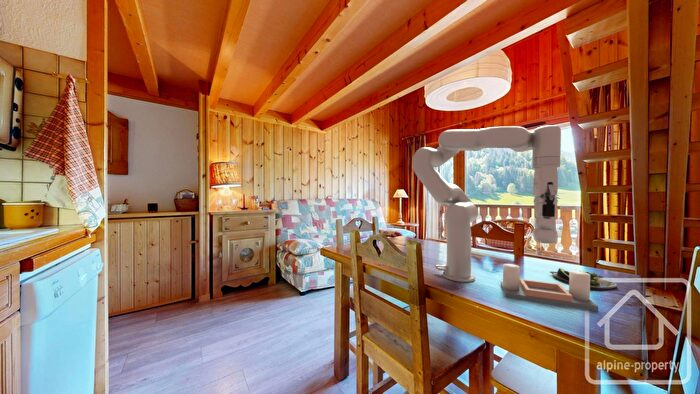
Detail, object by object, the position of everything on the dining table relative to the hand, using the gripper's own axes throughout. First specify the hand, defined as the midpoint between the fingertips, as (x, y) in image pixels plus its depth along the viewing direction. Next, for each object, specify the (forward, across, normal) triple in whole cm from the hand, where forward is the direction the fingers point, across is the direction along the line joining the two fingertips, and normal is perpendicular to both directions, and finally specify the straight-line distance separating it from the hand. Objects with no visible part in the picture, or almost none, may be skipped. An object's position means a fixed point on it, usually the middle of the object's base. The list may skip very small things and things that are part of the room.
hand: (545, 215), depth 85 cm
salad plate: (+29, -24, +18) cm, 42 cm away
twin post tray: (+28, 0, 0) cm, 28 cm away
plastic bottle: (+10, 0, 0) cm, 10 cm away
